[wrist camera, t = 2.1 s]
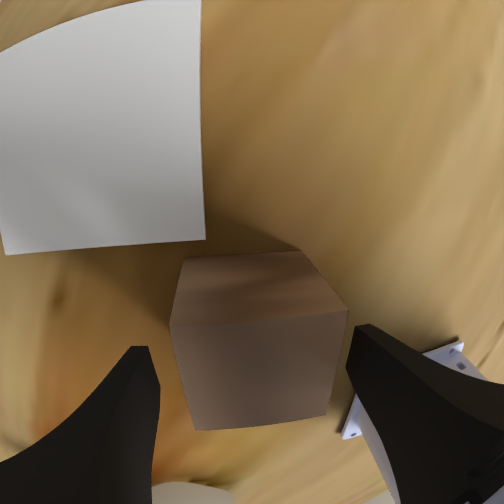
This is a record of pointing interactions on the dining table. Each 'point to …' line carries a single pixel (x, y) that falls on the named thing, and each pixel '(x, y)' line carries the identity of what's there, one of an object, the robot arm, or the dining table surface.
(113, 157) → the grey tile
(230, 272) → the walnut block
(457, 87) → the dining table surface
